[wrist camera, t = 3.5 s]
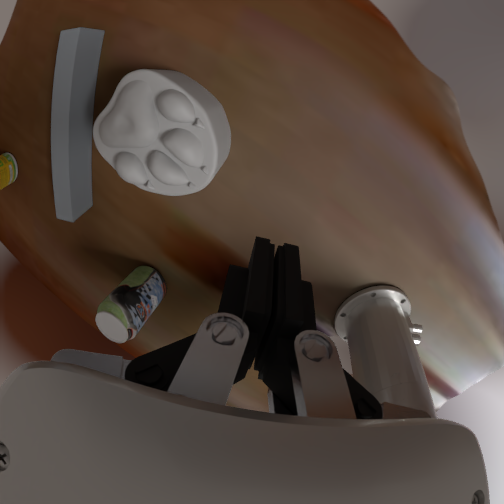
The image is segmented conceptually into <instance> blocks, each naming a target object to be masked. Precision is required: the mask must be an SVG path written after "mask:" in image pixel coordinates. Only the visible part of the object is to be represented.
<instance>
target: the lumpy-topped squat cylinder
mask: <svg viewBox="0 0 504 504" xmlns="http://www.w3.org/2000/svg"><path fill="white" fill-rule="evenodd" d="M93 137H94V141H95V145H96V147H97V149H98V151H99V153H100V154H101V155H102V157H103V158H104V159H105V160H106V161H107V162H108V163H109V164H110V165H111V166H112V167H113V168H114V169H115V170H116V171H117V173H118V174H119V176H120V177H121V178H122V179H123V180H125V181H126V182H128V183H132V184H134V185H136V186H137V187H139V188H141V189H143V190H146V191H150V192H153V193H158V194H163V195H169V196H180V195H186V194H191V193H195V192H198V191H200V190H202V189H203V188H205V187H206V186H207V185H208V184H209V183H210V182H211V180H212V179H213V177H214V176H215V175H216V173H217V172H218V170H219V169H220V167H221V166H222V165H223V163H224V162H225V160H226V159H227V157H228V154H229V151H230V144H231V132H230V127H229V123H228V120H227V117H226V114H225V111H224V109H223V107H222V105H221V104H220V102H219V101H218V100H217V99H216V98H215V97H214V96H213V95H212V94H211V93H210V92H209V91H208V90H206V89H205V88H204V87H203V86H201V85H200V84H199V83H197V82H196V81H194V80H193V79H191V78H190V77H188V76H186V75H185V74H183V73H181V72H178V71H173V70H156V69H140V70H135V71H132V72H130V73H128V74H127V75H125V76H124V77H123V78H122V80H121V81H120V82H119V84H118V86H117V88H116V90H115V92H114V94H113V96H112V98H111V100H110V102H109V103H108V105H107V106H106V107H105V109H104V110H103V111H102V112H101V113H100V114H99V116H98V117H97V119H96V121H95V123H94V126H93Z"/></svg>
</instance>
